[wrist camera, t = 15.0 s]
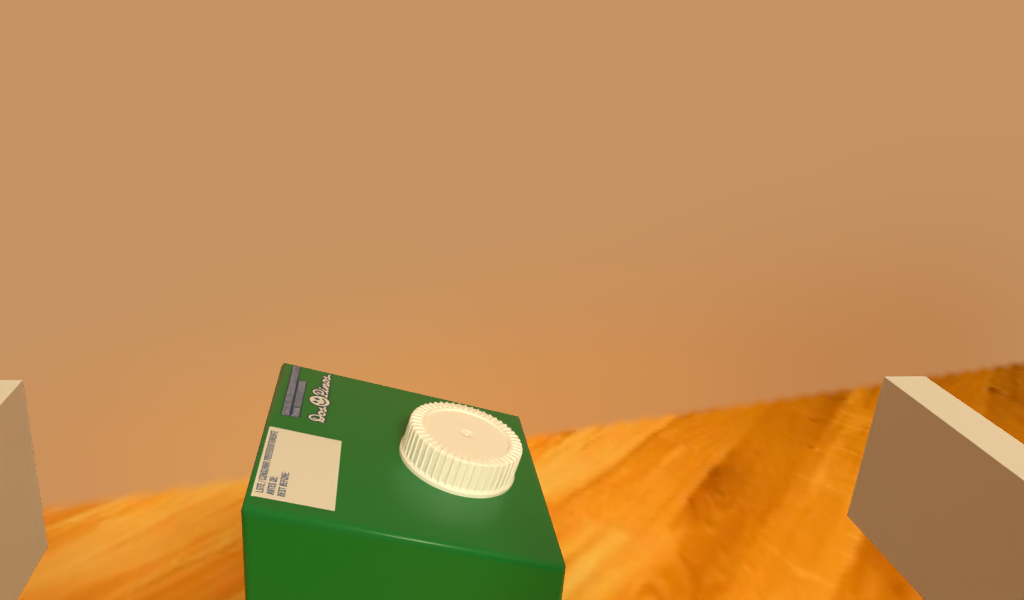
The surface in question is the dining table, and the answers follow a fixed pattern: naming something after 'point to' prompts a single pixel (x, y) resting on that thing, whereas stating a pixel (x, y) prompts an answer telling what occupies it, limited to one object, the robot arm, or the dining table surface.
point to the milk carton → (393, 499)
